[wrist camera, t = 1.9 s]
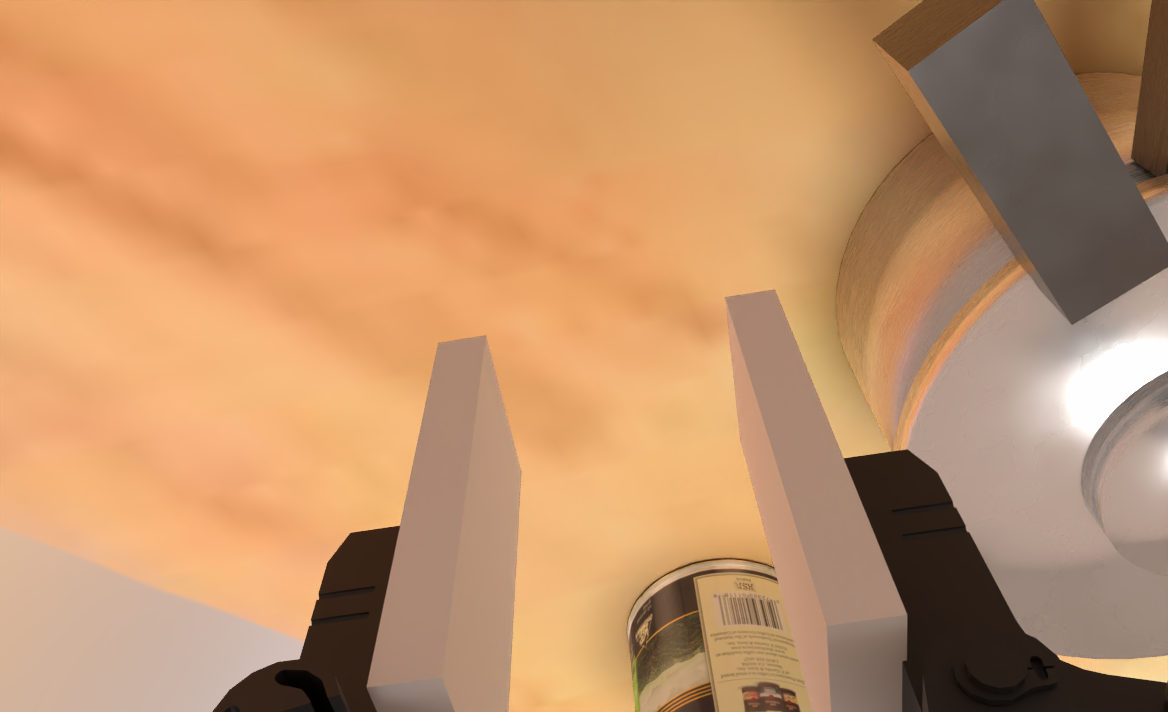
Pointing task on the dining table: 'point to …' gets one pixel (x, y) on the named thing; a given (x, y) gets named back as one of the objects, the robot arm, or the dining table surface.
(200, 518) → the dining table surface
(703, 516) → the dining table surface
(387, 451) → the dining table surface
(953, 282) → the pot
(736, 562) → the coffee can
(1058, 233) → the lid
